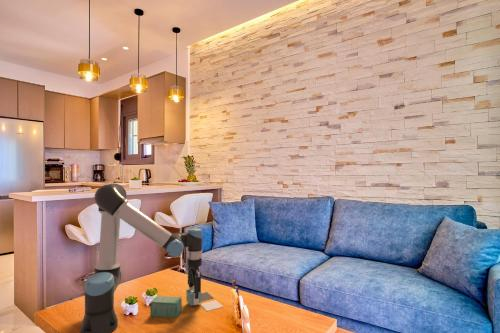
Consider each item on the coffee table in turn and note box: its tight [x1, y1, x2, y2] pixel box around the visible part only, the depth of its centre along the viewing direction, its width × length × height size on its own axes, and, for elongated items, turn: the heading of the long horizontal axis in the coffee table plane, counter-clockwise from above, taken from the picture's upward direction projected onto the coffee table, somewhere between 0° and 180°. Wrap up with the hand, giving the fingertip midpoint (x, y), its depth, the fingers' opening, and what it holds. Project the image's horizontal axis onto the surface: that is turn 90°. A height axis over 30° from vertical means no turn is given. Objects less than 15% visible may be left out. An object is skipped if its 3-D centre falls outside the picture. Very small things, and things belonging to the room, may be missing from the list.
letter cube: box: [185, 288, 203, 307], centre depth 154 cm, size 6×6×6 cm
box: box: [150, 295, 183, 318], centre depth 145 cm, size 7×14×8 cm, turn 85°
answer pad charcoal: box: [201, 291, 214, 302], centre depth 163 cm, size 9×9×1 cm
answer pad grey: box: [199, 299, 224, 312], centre depth 153 cm, size 9×9×1 cm
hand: (193, 301), depth 154 cm, fingers closed on letter cube, 6 cm apart
